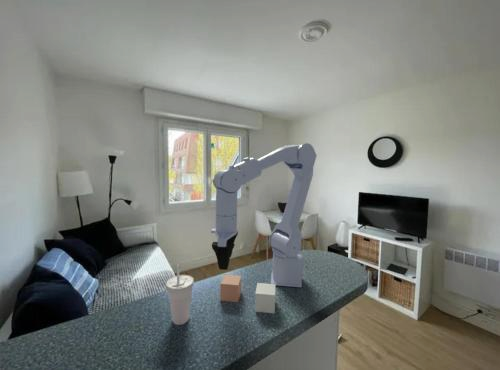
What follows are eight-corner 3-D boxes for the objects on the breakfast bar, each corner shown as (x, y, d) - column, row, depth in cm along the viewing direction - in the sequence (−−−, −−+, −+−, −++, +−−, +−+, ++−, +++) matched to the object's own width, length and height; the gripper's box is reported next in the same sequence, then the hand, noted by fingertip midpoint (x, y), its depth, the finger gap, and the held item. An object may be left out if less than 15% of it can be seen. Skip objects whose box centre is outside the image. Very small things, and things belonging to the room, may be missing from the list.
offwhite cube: (275, 301, 61) (275, 284, 60) (274, 313, 56) (275, 295, 55) (257, 299, 61) (257, 282, 61) (255, 311, 57) (255, 293, 56)
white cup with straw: (160, 322, 52) (159, 266, 51) (180, 307, 58) (179, 256, 56) (180, 333, 49) (179, 273, 48) (200, 315, 55) (199, 261, 53)
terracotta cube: (241, 291, 65) (241, 275, 65) (238, 302, 60) (238, 285, 60) (224, 290, 66) (224, 274, 65) (220, 300, 61) (220, 283, 60)
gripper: (216, 208, 67) (216, 251, 68) (205, 220, 52) (204, 274, 54) (239, 209, 67) (238, 252, 68) (234, 221, 52) (233, 276, 53)
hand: (225, 262), depth 61 cm, fingers open, 7 cm apart
